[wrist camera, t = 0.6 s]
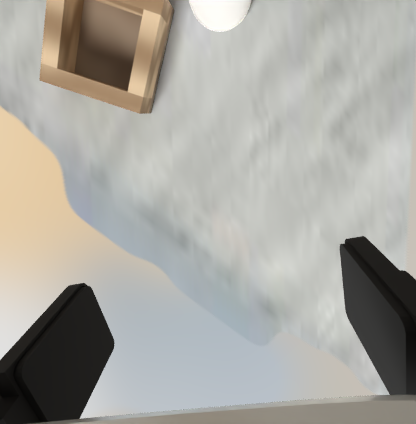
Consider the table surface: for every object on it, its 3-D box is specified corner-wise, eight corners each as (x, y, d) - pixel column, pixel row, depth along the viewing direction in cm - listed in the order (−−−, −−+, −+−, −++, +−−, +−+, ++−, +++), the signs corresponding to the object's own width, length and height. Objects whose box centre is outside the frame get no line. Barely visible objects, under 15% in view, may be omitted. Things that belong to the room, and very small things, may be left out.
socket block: (75, -24, 30) (50, -46, 26) (174, 10, 31) (165, -6, 26) (63, 84, 34) (39, 80, 30) (150, 113, 34) (139, 113, 30)
